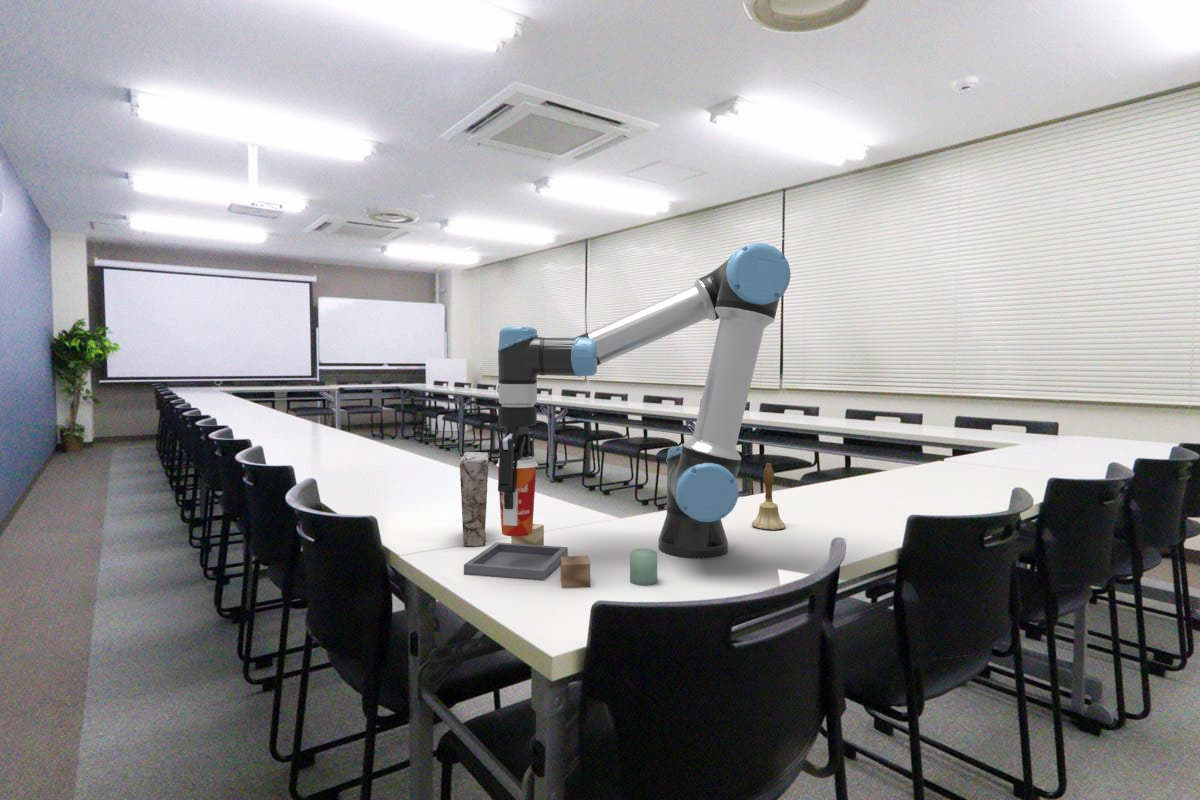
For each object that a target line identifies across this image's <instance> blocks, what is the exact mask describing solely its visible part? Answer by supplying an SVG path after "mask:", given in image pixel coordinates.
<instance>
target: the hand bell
mask: <svg viewBox="0 0 1200 800" xmlns="http://www.w3.org/2000/svg"><path fill="white" fill-rule="evenodd" d="M774 473H775V472H774V469H773V466H772V462H770V463H769V462H767V463H765V467H764V470H763V476H762V477H763V482H764V486H765V496H764V497H765V499H764V501H763V502H762V503H760V504H759V509H758V513H757V515H756V518H755V519H754V520H753V521H752V522H751V526H752V527H754V528H758V529H762V530H772V531H773V530H775V531H776V530H780V529H781V530H783V529H785V528H786V524H785V523H784V522H783V520H782V519H781V517H780V514H779V513H780V512H779V506H778V504H777V503H775V502H773V485H774V480H775V474H774Z"/></svg>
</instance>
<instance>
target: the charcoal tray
mask: <svg viewBox="0 0 1200 800" xmlns="http://www.w3.org/2000/svg"><path fill="white" fill-rule="evenodd" d="M568 549H569V548H568V546H557V545H544V546H543V545H529V544H514V543H510V542H497V541H495V542H494V543H493V544H491V545H490V546H489V547H487V548H485V550H483V551H481V552H480V553H479V554H476V556H474V557H473V558H471V559H470V560H469V561H467V562H465V563H464V564H463V575H464V576H477V577H489V578H490V577H491V578H503V579H517V580H531V581H542V582H543V581H545V580H546V579H547V578H549V576H550V575H551V574H552V573H554V572H555V571H556V569H558V567H559V566H561V565H560V564H561V557H563V556H568V555H569V554H568V553H569V552H568V551H569V550H568Z"/></svg>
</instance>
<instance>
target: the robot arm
mask: <svg viewBox="0 0 1200 800" xmlns="http://www.w3.org/2000/svg"><path fill="white" fill-rule="evenodd" d="M790 280H791V267H790V264H789V261H788V259H787V258H786V256H785V255H784V253H782V251H781V250H779V249H778V248H777V247H775V246H774V245H770V244H768V243H763V242H755V243H749V244H747V245H742V246H741V247H740V248H739V247H738V248H737V249H736V250H735V251H734V252H733V253H732V254H731V256H730V257H729V258H728V259H726V261H724V262H723V263H722V264H721V265H719V267H717V268H716V269H714V270H712V271H711V272H709V273H707V274H706V275H704V276H702V277H700V278H698V279H696V280H695V282H694V284H693V286H690V287H688V288H686V289H684V290H682V291H679V292H677V293H674V294H672V295H670V296H668V297H665V298H662V299H661V300H658V301H656V302H654V303H652V304H649V305H648V306H645V307H642V308H640V309H637V310H636V311H633V312H630V313H629V314H626V315H624V316H622V317H620V318H617V319H615V320H613V321H610V322H607V323H605V324H603V325H601V326H599V327H596V328H595V329H592V330H590V331H587V332H586V333H583V334H580V335H578V336H576V337H541V336H539V335H538V331H537V329H536V328H535V327H532V326H505V327H503V328H501V329H500V331H499V333H498V335H499V337H498V338H499V339H498V349H497V352H498V353H497V356H498V357H497V358H498V359H497V360H498V362H497V363H498V388H497V389H496V392H497V394H498V403H499V404H500V405H501V406H499V407H498V408H497V409H498V413H497V414H498V415H497V416H498V420H497V421H498V425H500V426H502V427H506V429H505V434H504V438H502V437H500V438H499V440H498V447H499V455H498V456H499V458H498V459H499V478H498V477H497V479H498V483H497V492H503V525H510V526H517V525H518V492H515V491H516V483H517V468H516V467H517V461H518V460H520V458H522V457H528V456H531V457H534V458H535V444H534V443H535V432H533V431H530V429H529V427H532V426H535V425H537V421H538V419H537V418H538V413H537V411H538V408H536V406H535V404H537V403H538V381H537V379H538V378H537V377H538V376H556V377H557V376H558V377H561V376H562V377H579V378H580V377H590V376H595V375H596V374H597V373H598V372H597V371H598V366H600V365H601V364H604V363H606V362H609V361H611V360H613V359H616V358H619V357H620V356H623V355H625V354H627V353H630V352H632V351H635V350H636V349H639V348H641V347H644V346H646V345H648V344H650V343H653V342H655V341H658V340H660V339H662V338H666V337H667V336H670V335H672V334H674V333H677V332H679V331H681V330H683V329H686V328H688V327H690V326H694V325H695V324H697V323H699V322H702V321H705V320H710V321H716V320H719V324H718V329H717V333H716V337H715V341H714V346H713V349H712V354H711V359H710V364H709V367H708V369H707V375H706V379H705V384H704V388H703V392H702V395H701V401H700V405H699V410H698V414H697V418H696V422H695V426H694V431H693V434H692V437H691V438H690V439H688V440H687V441H685V442H684V443H683V445H682V446H671V447H670V448H668V450H667V456H666V459H665V460H666V467H667V469H666V470H667V471H666V476H667V477H666V515H665V519H664V522H663V525H662V528H661V531H660V534H659V537H658V551H660V552H661V553H662V554H665V555H668V556H672V557H677V558H682V559H683V558H684V559H695V560H696V559H713V558H719V557H722V556H725V555H727V554H728V551H729V542H728V538H727V535H726V531H725V529H724V525H723V523H722V519H724V518H726V517H727V516H728V515H729V514H730V513H731V512H732V511H733V510H734V508H735V507H736V505H737V502H738V499H739V484H738V481H737V479H738V475H739V474H738V473H739V469H740V466H741V461H742V457H741V455H740V453H739V451H738V450H737V444H738V441H739V436H740V431H741V427H742V423H743V418H744V414H745V410H746V406H747V401H748V398H749V393H750V389H751V386H752V381H753V378H754V377H753V376H754V372H755V368H756V364H757V360H758V356H759V351H760V346H761V342H762V339H763V335H764V331H765V329H766V327H768V326H769V325H771V324H773V323H774V322H775V318H776V315H777V311H778V307H779V303H780V299H781V298H782V296H784V294H785V292H786V291H787V289H788V287H789V285H790ZM514 461H515V462H514ZM513 462H514V463H513ZM513 467H514V468H513ZM535 483H536V479H535Z"/></svg>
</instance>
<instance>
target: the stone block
mask: <svg viewBox="0 0 1200 800" xmlns="http://www.w3.org/2000/svg"><path fill="white" fill-rule="evenodd" d="M459 460H460V461H459V475H460V478H459V480H460V494H461V501H460V502H461V516H462V519H461V520H462V537H463V546H465V547H466V546H467V547H485V546H486V540H487V539H486V519H487V503H488V500H487V499H488V478H489V453H488V452H484V451H483V452H480V451H478V452H477V451H465V452H463V456H462V457H460V459H459Z"/></svg>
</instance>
